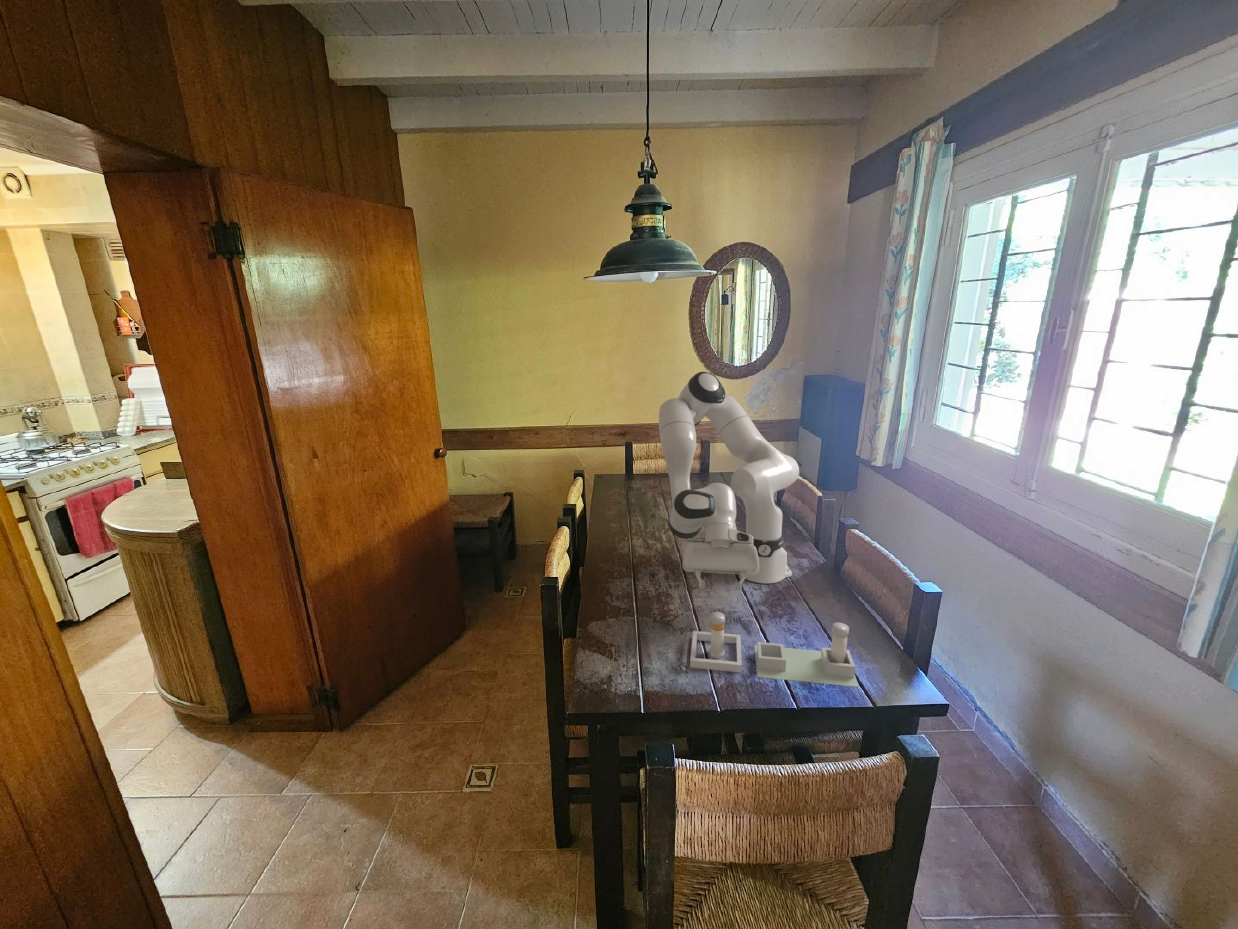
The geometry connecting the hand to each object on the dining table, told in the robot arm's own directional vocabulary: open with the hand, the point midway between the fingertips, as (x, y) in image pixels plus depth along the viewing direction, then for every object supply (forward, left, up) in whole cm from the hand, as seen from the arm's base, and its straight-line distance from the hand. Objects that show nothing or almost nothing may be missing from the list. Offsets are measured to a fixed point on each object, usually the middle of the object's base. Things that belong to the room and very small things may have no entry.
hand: (720, 588), depth 133 cm
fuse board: (+12, +20, -13) cm, 27 cm away
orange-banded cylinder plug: (+11, -1, -12) cm, 16 cm away
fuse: (+12, +27, -12) cm, 32 cm away
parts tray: (+11, -1, -13) cm, 17 cm away
